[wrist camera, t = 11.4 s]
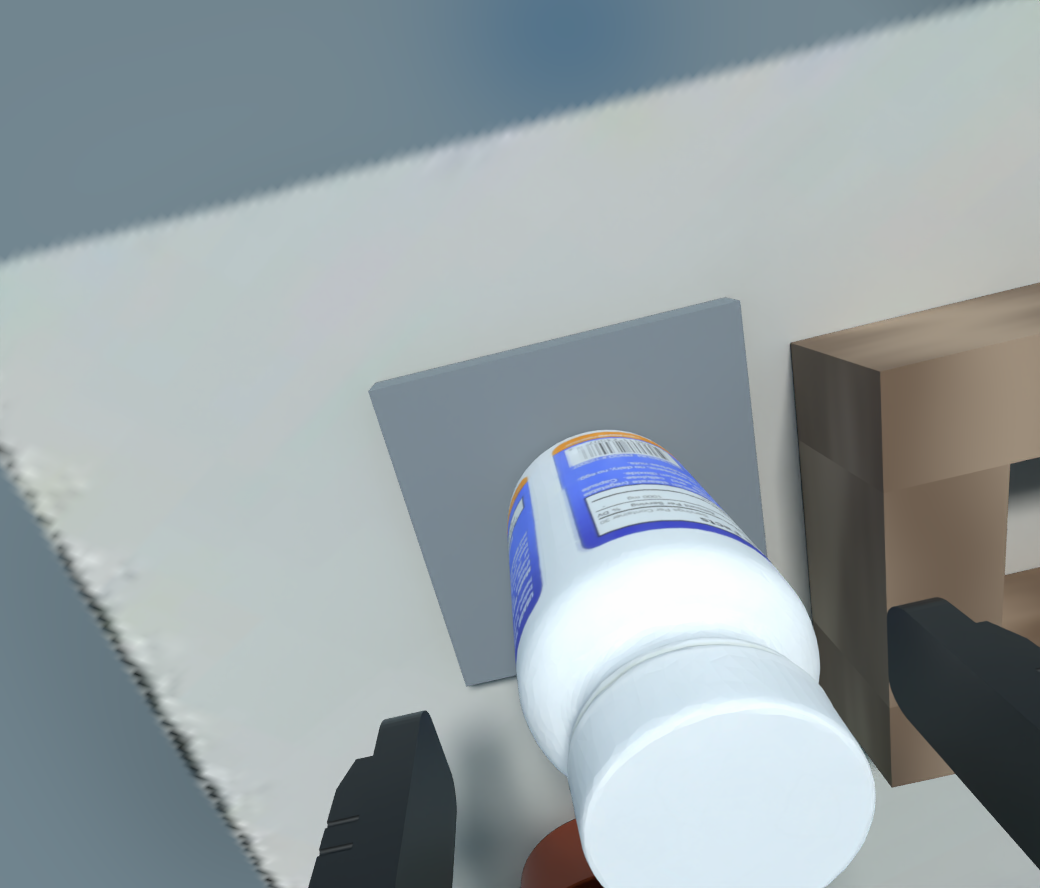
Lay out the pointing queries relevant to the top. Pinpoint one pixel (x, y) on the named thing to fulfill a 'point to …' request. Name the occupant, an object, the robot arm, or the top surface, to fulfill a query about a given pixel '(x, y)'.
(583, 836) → the pill bottle
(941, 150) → the top surface
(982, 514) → the socket block
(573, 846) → the green brown cylinder
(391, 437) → the mat
